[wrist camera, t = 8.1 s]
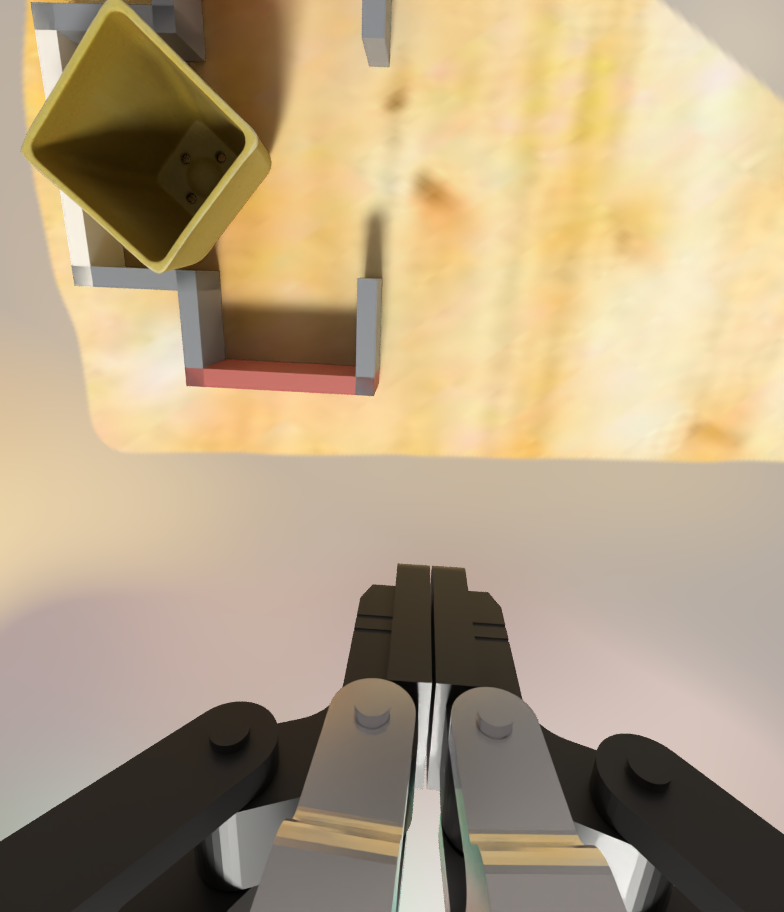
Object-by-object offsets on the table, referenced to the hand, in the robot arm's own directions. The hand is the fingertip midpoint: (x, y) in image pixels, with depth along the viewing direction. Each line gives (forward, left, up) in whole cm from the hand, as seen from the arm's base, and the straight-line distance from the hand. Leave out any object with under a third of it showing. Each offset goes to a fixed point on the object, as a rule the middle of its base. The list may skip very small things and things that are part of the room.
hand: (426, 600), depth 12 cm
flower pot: (+15, -12, -27) cm, 33 cm away
